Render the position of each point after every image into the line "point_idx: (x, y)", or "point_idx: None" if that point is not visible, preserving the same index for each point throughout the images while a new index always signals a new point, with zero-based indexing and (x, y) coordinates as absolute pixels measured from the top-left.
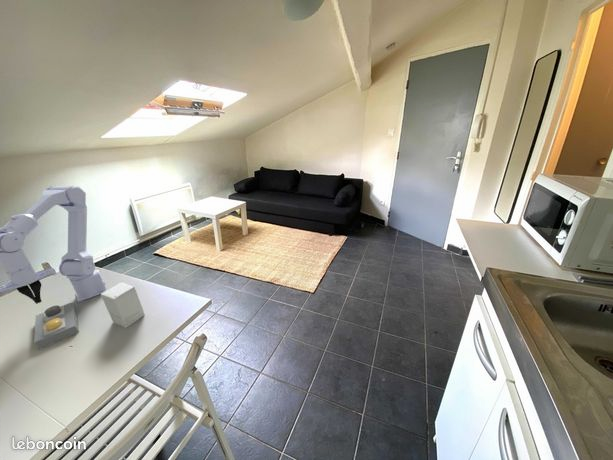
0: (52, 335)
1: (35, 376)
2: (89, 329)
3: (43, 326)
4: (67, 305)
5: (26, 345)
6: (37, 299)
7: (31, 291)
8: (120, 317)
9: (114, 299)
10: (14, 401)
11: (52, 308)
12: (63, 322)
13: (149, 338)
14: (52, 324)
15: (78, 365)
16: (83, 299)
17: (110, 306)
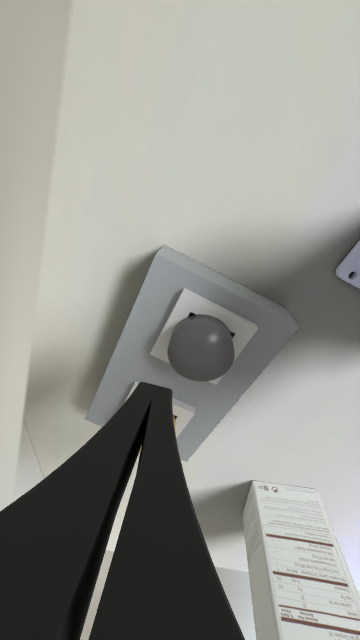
0: None
1: (67, 458)
2: (208, 448)
3: (134, 374)
4: (270, 330)
5: (84, 345)
6: (139, 458)
7: (83, 620)
8: (248, 562)
9: None
10: (28, 471)
11: (206, 349)
12: (176, 432)
13: (231, 556)
14: (141, 446)
15: (126, 501)
16: (357, 287)
17: (260, 602)
